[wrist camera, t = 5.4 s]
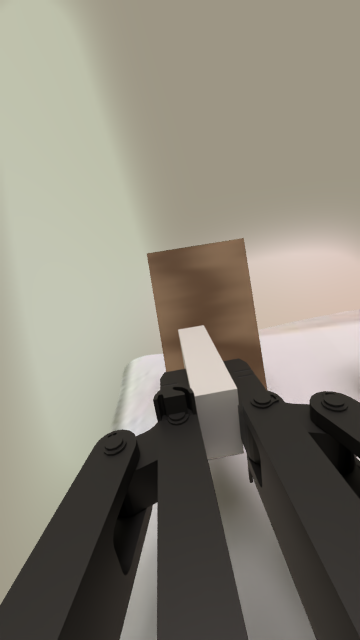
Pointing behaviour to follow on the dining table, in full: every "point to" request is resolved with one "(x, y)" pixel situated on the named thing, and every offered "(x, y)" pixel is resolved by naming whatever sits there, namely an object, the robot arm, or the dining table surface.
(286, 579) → the dining table surface
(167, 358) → the tile
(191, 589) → the robot arm
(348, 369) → the dining table surface
